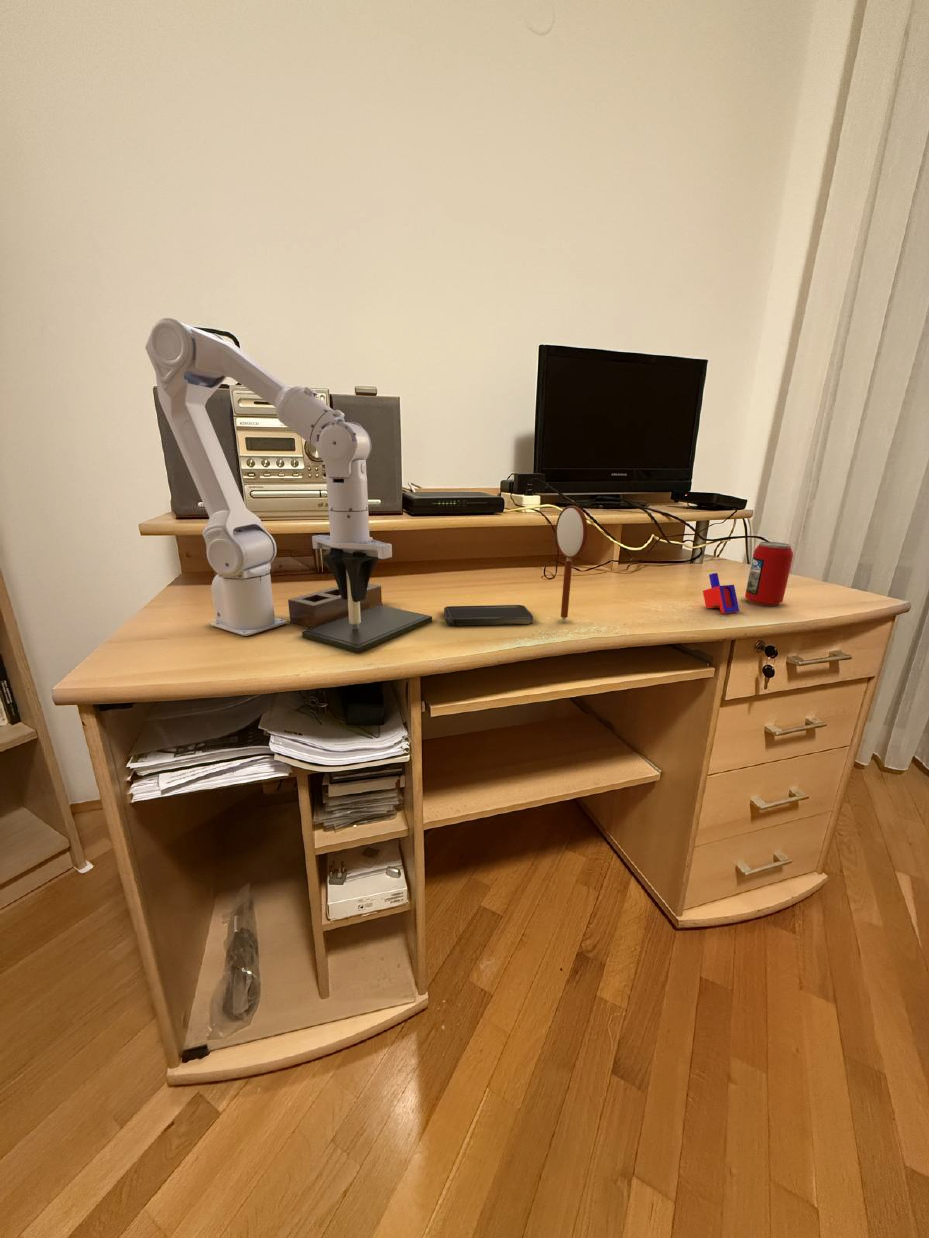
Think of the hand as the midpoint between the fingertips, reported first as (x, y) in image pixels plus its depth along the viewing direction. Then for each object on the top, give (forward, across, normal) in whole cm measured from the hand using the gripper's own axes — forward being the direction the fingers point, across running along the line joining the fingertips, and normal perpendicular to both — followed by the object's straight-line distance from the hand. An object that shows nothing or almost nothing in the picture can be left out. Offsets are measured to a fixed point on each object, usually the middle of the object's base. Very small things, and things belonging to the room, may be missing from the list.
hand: (353, 599), depth 76 cm
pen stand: (+6, +11, -6) cm, 14 cm away
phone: (+6, -13, -20) cm, 24 cm away
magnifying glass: (+6, -25, -26) cm, 36 cm away
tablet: (+6, 0, -4) cm, 7 cm away
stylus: (+5, 0, 0) cm, 5 cm away
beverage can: (+6, -54, -62) cm, 82 cm away
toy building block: (+6, -47, -51) cm, 69 cm away
